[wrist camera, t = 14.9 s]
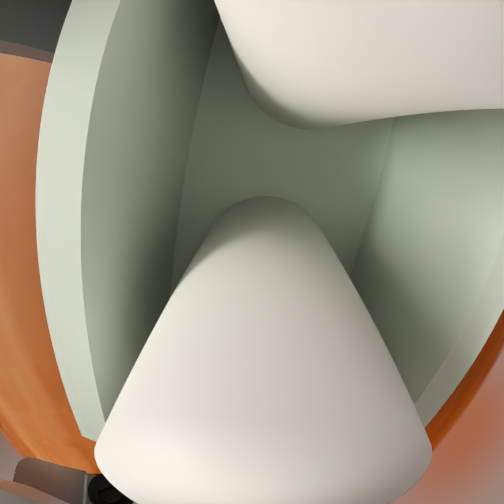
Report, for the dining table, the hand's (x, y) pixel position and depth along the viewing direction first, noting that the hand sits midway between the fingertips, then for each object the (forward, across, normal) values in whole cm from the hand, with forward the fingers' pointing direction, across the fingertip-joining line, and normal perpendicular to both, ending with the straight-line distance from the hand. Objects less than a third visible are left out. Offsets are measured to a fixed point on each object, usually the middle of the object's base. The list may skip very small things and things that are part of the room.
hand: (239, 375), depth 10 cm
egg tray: (+1, 0, -8) cm, 8 cm away
